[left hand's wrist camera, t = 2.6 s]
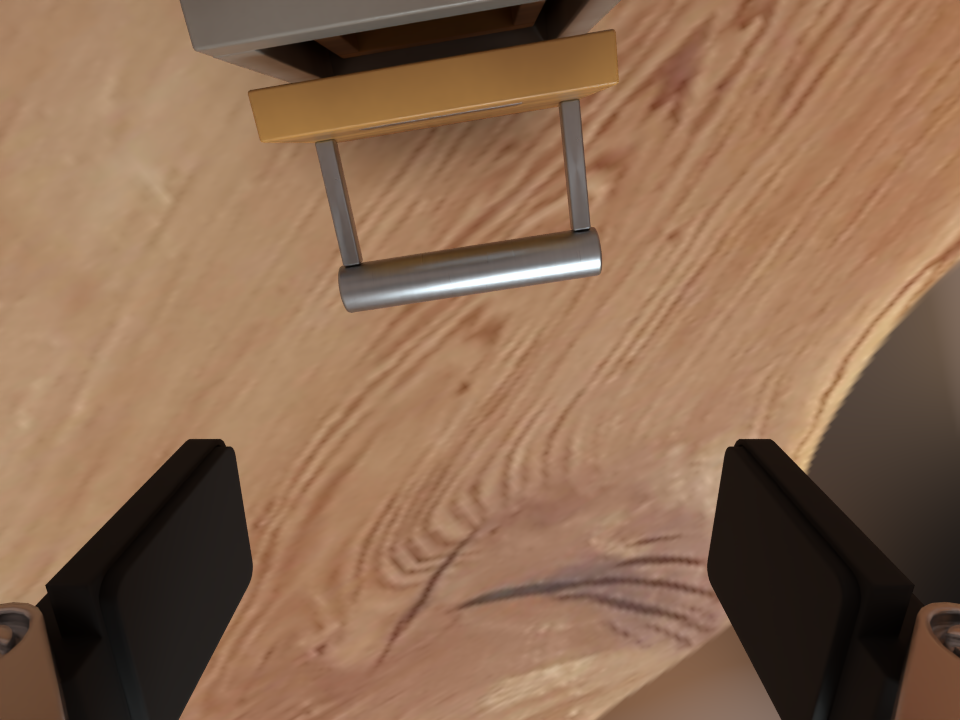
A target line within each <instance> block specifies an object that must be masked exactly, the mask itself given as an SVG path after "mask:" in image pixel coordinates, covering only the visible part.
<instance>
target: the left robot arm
mask: <svg viewBox="0 0 960 720" xmlns="http://www.w3.org/2000/svg"><path fill="white" fill-rule="evenodd" d="M252 571H253V563H252V556H251V550H250V543H249V537H248V531H247V525H246V518H245V512H244V506H243V500H242V493H241V487H240V481H239V474H238V468H237V462H236V456H235V452H234V449H233V448H232V447H226V445H225V443H224V441H222V440H221V439H189V440H187V441H186V442H185V443H184V444H183V445H182V446H181V447H180V448H179V449H178V450H177V451H176V452H175V453H174V454H173V455H172V456H171V457H170V458H169V459H168V460H167V461H166V462H165V463H164V464H163V465H162V467H161V468H160V469H159V470H158V471H157V472H156V473H155V474H154V475H153V476H152V477H151V478H150V479H149V480H148V481H147V482H146V483H145V484H144V485H143V486H142V487H141V488H140V489H139V490H138V491H137V492H136V493H135V494H134V495H133V496H132V497H131V498H130V499H129V500H128V501H127V502H126V503H125V504H124V505H123V506H122V507H121V508H120V509H119V510H118V512H117V513H116V514H115V515H114V516H113V517H112V518H111V519H110V520H109V521H108V522H107V523H106V524H105V525H104V526H103V527H102V528H101V529H100V530H99V531H98V532H97V533H96V534H95V535H94V536H93V537H92V538H91V539H90V540H89V541H88V542H87V543H86V544H85V545H84V546H83V547H82V548H81V549H80V550H79V551H78V552H77V553H76V554H75V555H74V557H73V558H72V559H71V560H70V561H69V562H68V563H67V564H66V565H65V566H64V567H63V568H62V569H61V570H60V571H59V572H58V573H57V574H56V575H55V576H54V577H53V578H52V579H51V580H50V581H49V582H48V583H47V584H46V585H45V586H46V589H47V592H48V593H47V594H46V595H45V596H44V597H43V598H42V599H41V601H40V602H39V603H38V604H37V605H36V606H33V605H31V604H29V603H16V602H12V603H5V604H0V720H179V718H180V716H181V714H182V712H183V710H184V708H185V706H186V704H187V703H188V701H189V699H190V697H191V695H192V693H193V691H194V689H195V687H196V685H197V683H198V681H199V679H200V678H201V676H202V674H203V672H204V670H205V668H206V666H207V664H208V662H209V660H210V658H211V656H212V655H213V653H214V651H215V649H216V647H217V645H218V643H219V641H220V639H221V637H222V635H223V633H224V631H225V630H226V628H227V626H228V624H229V622H230V620H231V618H232V616H233V614H234V612H235V610H236V608H237V607H238V605H239V603H240V601H241V599H242V597H243V595H244V593H245V591H246V589H247V587H248V585H249V583H250V581H251V577H252ZM707 571H708V577H709V581H710V583H711V585H712V587H713V589H714V591H715V593H716V595H717V597H718V599H719V601H720V603H721V605H722V607H723V608H724V610H725V612H726V614H727V616H728V618H729V620H730V622H731V624H732V626H733V627H734V630H735V631H736V633H737V635H738V637H739V639H740V641H741V643H742V645H743V647H744V649H745V651H746V653H747V654H748V656H749V658H750V660H751V662H752V664H753V666H754V668H755V670H756V672H757V674H758V676H759V677H760V679H761V681H762V683H763V685H764V687H765V689H766V691H767V693H768V695H769V697H770V699H771V701H772V702H773V704H774V706H775V708H776V710H777V712H778V714H779V716H780V718H781V720H960V604H954V603H948V602H944V603H931V604H929V605H927V606H924V605H923V604H922V603H921V602H920V601H919V599H918V598H917V597H916V596H915V595H914V594H913V593H912V592H913V589H914V584H913V583H912V582H911V581H910V580H909V579H908V578H907V577H906V576H905V575H904V574H903V573H902V572H901V571H900V570H899V569H898V568H897V567H896V566H895V565H894V564H893V563H892V562H891V561H890V560H889V559H888V558H887V557H886V555H885V554H884V553H883V552H882V551H881V550H880V549H879V548H878V547H877V546H876V545H875V544H874V543H873V542H872V541H871V540H870V539H869V538H868V537H867V536H866V535H865V534H864V533H863V532H862V531H861V530H860V529H859V528H858V527H857V526H856V525H855V524H854V523H853V522H852V521H851V520H850V519H849V518H848V517H847V516H846V515H845V514H844V513H843V512H842V510H840V508H839V507H838V506H837V505H836V504H835V503H834V502H833V501H832V500H831V499H830V498H829V497H828V496H827V495H826V494H825V493H824V492H823V491H822V490H821V489H820V488H819V487H818V486H817V485H816V484H815V483H814V482H813V481H812V480H811V479H810V478H809V477H808V476H807V475H806V474H805V473H804V472H803V471H802V470H801V469H800V468H799V467H798V465H797V464H796V463H795V462H794V461H793V460H792V459H791V458H790V457H789V456H788V455H787V454H786V453H785V452H784V451H783V450H782V449H781V448H780V447H779V446H778V445H777V444H776V443H775V442H774V441H773V440H771V439H739V440H738V441H736V443H735V445H734V447H728V448H727V449H726V452H725V456H724V462H723V468H722V474H721V481H720V487H719V493H718V500H717V506H716V512H715V518H714V525H713V531H712V537H711V543H710V550H709V556H708V563H707Z"/></svg>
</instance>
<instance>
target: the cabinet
mask: <svg viewBox="0 0 960 720" xmlns="http://www.w3.org/2000/svg"><path fill="white" fill-rule="evenodd" d="M537 1H543V0H180V3H181V7H182V10H183V14H184V17H185V21H186V24H187V28H188V31H189V35H190V39H191V42H192V46H193V48H194V50H195V51H197V52H200V53H203V54H207V55H210V56H213V58H216V59H219V60H222V61H225V62H229V63H232V64H235V65H238V66H241V67H244V68H247V69H250V70H253V71H256V72H259V73H262V74H265V75H268V76H271V77H274V78H277V79H281V80H284V81H287V82H290V83H296V82H302V81H308V80H314V79H320V78H326V77H332V76H338V75H343V74H349V73H355V72H361V71H367V70H373V69H379V68H385V67H391V66H397V65H403V64H409V63H415V62H421V61H427V60H432V59H438V58H444V57H450V56H456V55H462V54H468V53H474V52H480V51H486V50H492V49H498V48H504V47H510V46H515V45H521V44H527V43H533V42H539V41H545V40H551V39H557V38H563V37H569V36H575V35H581V34H586V33H587V32H589V31H590V30H591V29H592V28H593V27H594V26H595V25H596V24H597V23H598V22H599V21H600V20H601V19H602V18H603V17H604V16H605V15H606V14H607V13H608V12H609V11H610V10H611V9H612V8H613V7H614V6H615V5H617V4H618V3H619V2H620V1H621V0H546V1H545V3H544V5H543V7H542V9H541V11H540V13H539V15H538V17H537V19H536V21H535V23H534V25H533V26H532V27H527V28H521V29H515V30H509V31H503V32H497V33H491V34H485V35H479V36H474V37H468V38H462V39H456V40H450V41H444V42H438V43H432V44H426V45H421V46H415V47H409V48H403V49H397V50H391V51H385V52H379V53H373V54H368V55H362V56H356V57H350V58H344V59H343V58H341V57H340V56H338V55H336V54H335V53H333V52H332V51H330V50H329V49H327V48H326V47H324V46H322V45H321V44H319V43H318V42H316V41H315V40H316V39H322V38H328V37H333V36H339V35H345V34H351V33H357V32H363V31H368V30H374V29H380V28H386V27H392V26H398V25H403V24H409V23H415V22H421V21H427V20H433V19H438V18H444V17H450V16H456V15H462V14H467V13H473V12H479V11H485V10H491V9H497V8H502V7H508V6H514V5H520V4H526V3H532V2H537Z"/></svg>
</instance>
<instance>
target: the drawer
mask: <svg viewBox="0 0 960 720" xmlns="http://www.w3.org/2000/svg"><path fill="white" fill-rule="evenodd" d="M545 1H546V0H543V1H537V2H532V3H526V4H520V5H514V6H508V7H502V8H497V9H491V10H485V11H479V12H473V13H467V14H462V15H456V16H450V17H444V18H438V19H433V20H427V21H421V22H415V23H409V24H403V25H398V26H392V27H386V28H380V29H374V30H368V31H363V32H357V33H351V34H345V35H339V36H333V37H328V38H322V39H316V40H315V41H316V42H318V43H319V44H321V45H322V46H324V47H326V48H327V49H329V50H330V51H332V52H333V53H335V54H336V55H338V56H340V57H341V58H343V59H344V58H350V57H356V56H362V55H368V54H373V53H379V52H385V51H391V50H397V49H403V48H409V47H415V46H421V45H426V44H432V43H438V42H444V41H450V40H456V39H462V38H468V37H474V36H479V35H485V34H491V33H497V32H503V31H509V30H515V29H521V28H527V27H532V26H533V25H534V23H535V21H536V19H537V17H538V15H539V13H540V11H541V9H542V7H543V5H544V3H545ZM618 82H619V76H618V61H617V46H616V32H615V30H613V29H610V30H604V31H598V32H593V33H587V34H581V35H575V36H569V37H563V38H557V39H551V40H545V41H539V42H533V43H527V44H521V45H515V46H510V47H504V48H498V49H492V50H486V51H480V52H474V53H468V54H462V55H456V56H450V57H444V58H438V59H432V60H427V61H421V62H415V63H409V64H403V65H397V66H391V67H385V68H379V69H373V70H367V71H361V72H355V73H349V74H343V75H338V76H332V77H326V78H320V79H314V80H308V81H302V82H296V83H290V84H284V85H278V86H272V87H266V88H260V89H255V90H250V91H248V96H249V100H250V103H251V107H252V111H253V115H254V119H255V122H256V126H257V130H258V134H259V138H260V141H261V142H264V143H315V145H316V150H317V154H318V158H319V163H320V167H321V171H322V176H323V180H324V184H325V188H326V193H327V197H328V201H329V206H330V210H331V214H332V219H333V223H334V227H335V231H336V236H337V240H338V244H339V249H340V253H341V257H342V262H343V265H344V266H341V267H340V268H339V273H338V283H339V290H340V295H341V299H342V302H343V304H344V306H345V308H346V310H347V311H348V312H350V313H353V312H359V311H366V310H372V309H379V308H386V307H392V306H399V305H405V304H412V303H419V302H425V301H432V300H438V299H445V298H452V297H458V296H465V295H471V294H478V293H485V292H491V291H498V290H504V289H511V288H518V287H524V286H531V285H537V284H544V283H551V282H557V281H564V280H570V279H577V278H584V277H590V276H597V275H599V274H600V273H601V270H602V253H601V245H600V240H599V236H598V233H597V231H596V229H595V228H594V227H591V226H590V215H589V203H588V192H587V180H586V169H585V157H584V146H583V134H582V123H581V111H580V101H579V99H582V98H584V97H587V96H589V95H592V94H594V93H596V92H599V91H601V90H604V89H606V88H609V87H611V86H614V85H616V84H618ZM552 107H559V114H560V124H561V135H562V145H563V155H564V165H565V175H566V185H567V195H568V205H569V216H570V226H571V229H572V230H570V231H563V232H557V233H550V234H544V235H537V236H531V237H524V238H518V239H511V240H505V241H499V242H492V243H486V244H479V245H473V246H466V247H460V248H453V249H447V250H441V251H434V252H428V253H421V254H415V255H408V256H402V257H395V258H389V259H382V260H376V261H370V262H363V263H361V262H362V261H363V259H362V254H361V250H360V245H359V241H358V236H357V232H356V227H355V222H354V218H353V213H352V209H351V204H350V200H349V195H348V191H347V186H346V182H345V177H344V173H343V168H342V164H341V159H340V154H339V150H338V145H337V143H339V142H345V141H351V140H357V139H363V138H369V137H375V136H382V135H388V134H394V133H400V132H406V131H412V130H418V129H424V128H430V127H436V126H443V125H449V124H455V123H461V122H467V121H473V120H479V119H485V118H491V117H498V116H504V115H510V114H516V113H522V112H528V111H534V110H540V109H546V108H552Z"/></svg>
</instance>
